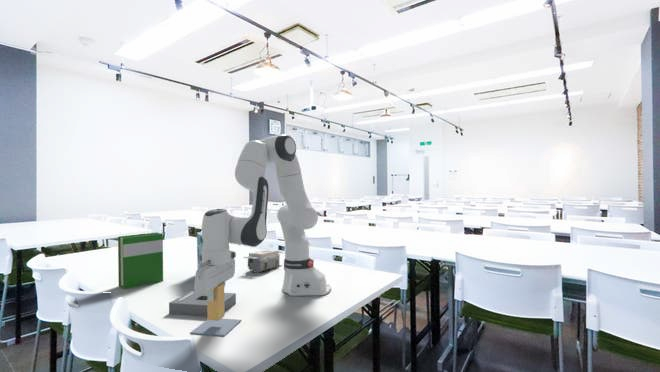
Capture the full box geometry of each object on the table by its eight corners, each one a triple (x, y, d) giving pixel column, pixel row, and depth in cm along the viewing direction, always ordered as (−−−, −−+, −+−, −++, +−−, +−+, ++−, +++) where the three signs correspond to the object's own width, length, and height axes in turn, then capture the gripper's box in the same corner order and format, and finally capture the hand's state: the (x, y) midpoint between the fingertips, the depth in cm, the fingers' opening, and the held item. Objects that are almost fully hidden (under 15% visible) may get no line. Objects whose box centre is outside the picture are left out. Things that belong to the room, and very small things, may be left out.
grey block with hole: (235, 303, 133) (235, 292, 133) (218, 316, 119) (218, 305, 119) (191, 300, 136) (191, 290, 136) (169, 313, 123) (169, 302, 123)
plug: (224, 315, 112) (224, 281, 112) (218, 320, 108) (218, 284, 108) (213, 315, 113) (213, 280, 113) (207, 319, 109) (207, 284, 109)
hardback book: (123, 289, 152) (123, 238, 152) (118, 286, 157) (118, 236, 157) (163, 281, 165) (162, 233, 165) (157, 278, 170) (156, 232, 170)
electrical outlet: (239, 272, 177) (240, 254, 178) (269, 264, 203) (269, 248, 204) (257, 274, 173) (258, 255, 173) (285, 266, 199) (285, 249, 199)
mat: (241, 320, 115) (241, 319, 115) (224, 336, 103) (224, 335, 103) (210, 318, 117) (210, 317, 117) (190, 333, 106) (190, 332, 106)
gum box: (214, 281, 163) (213, 236, 163) (203, 283, 161) (203, 236, 160) (206, 273, 180) (206, 231, 180) (196, 274, 177) (196, 232, 177)
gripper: (207, 265, 100) (207, 310, 100) (238, 251, 120) (238, 289, 120) (188, 264, 101) (189, 309, 101) (222, 251, 121) (222, 288, 121)
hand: (216, 298), depth 110 cm, fingers closed on plug, 4 cm apart
